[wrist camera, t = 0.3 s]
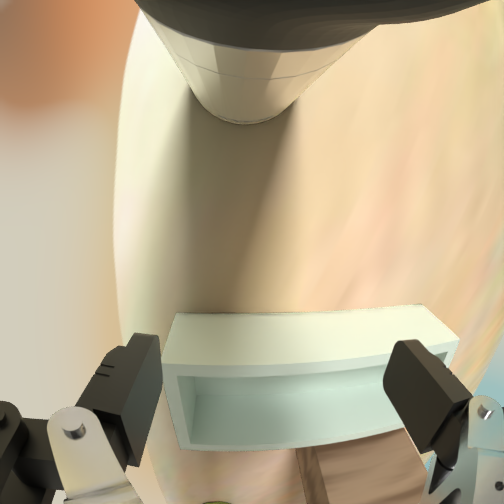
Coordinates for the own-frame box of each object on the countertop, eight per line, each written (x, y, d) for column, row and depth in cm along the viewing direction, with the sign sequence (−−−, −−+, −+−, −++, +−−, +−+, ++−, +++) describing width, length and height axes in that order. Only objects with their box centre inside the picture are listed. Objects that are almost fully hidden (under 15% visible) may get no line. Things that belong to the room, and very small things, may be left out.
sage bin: (176, 312, 28) (159, 363, 20) (421, 303, 30) (460, 339, 22) (187, 397, 32) (180, 449, 24) (396, 381, 33) (421, 421, 25)
